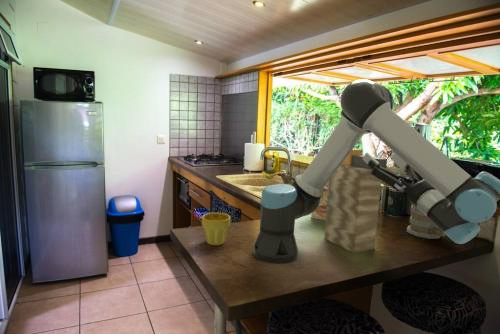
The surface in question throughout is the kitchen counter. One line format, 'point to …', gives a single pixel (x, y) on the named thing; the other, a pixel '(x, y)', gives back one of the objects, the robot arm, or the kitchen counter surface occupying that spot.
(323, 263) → the kitchen counter surface
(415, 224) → the tankard
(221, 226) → the plant pot
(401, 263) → the kitchen counter surface
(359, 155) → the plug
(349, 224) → the zigzag striped pillar
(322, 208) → the coffeecake box
